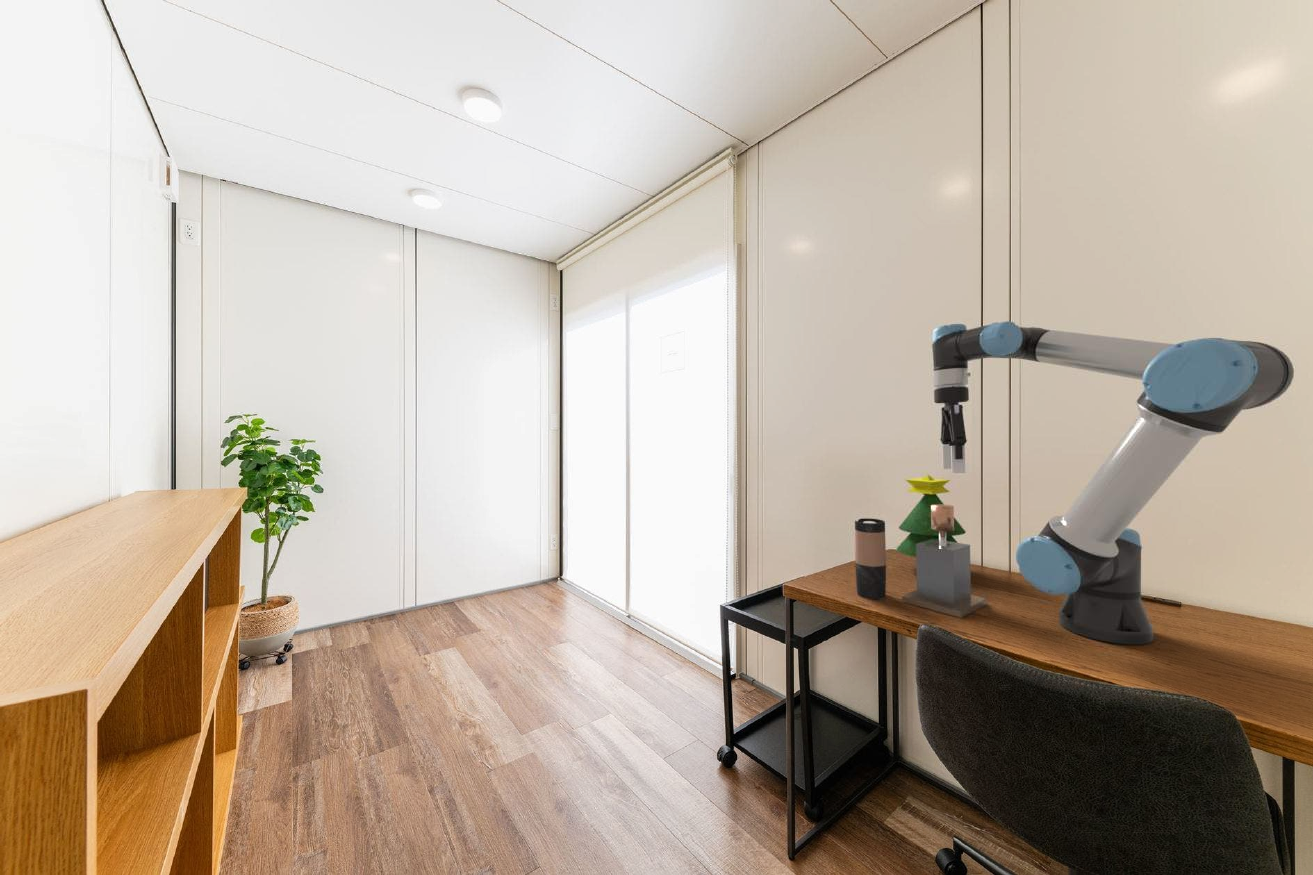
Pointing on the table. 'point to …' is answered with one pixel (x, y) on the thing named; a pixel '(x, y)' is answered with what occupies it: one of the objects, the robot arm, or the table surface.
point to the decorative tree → (924, 515)
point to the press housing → (944, 579)
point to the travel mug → (870, 558)
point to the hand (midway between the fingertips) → (953, 470)
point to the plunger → (942, 520)
